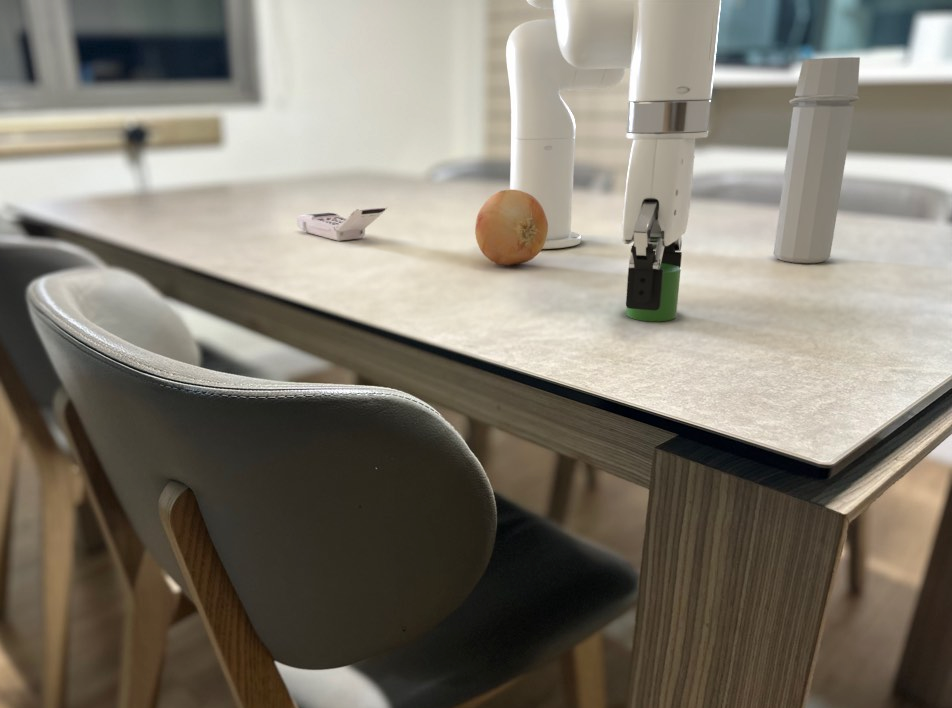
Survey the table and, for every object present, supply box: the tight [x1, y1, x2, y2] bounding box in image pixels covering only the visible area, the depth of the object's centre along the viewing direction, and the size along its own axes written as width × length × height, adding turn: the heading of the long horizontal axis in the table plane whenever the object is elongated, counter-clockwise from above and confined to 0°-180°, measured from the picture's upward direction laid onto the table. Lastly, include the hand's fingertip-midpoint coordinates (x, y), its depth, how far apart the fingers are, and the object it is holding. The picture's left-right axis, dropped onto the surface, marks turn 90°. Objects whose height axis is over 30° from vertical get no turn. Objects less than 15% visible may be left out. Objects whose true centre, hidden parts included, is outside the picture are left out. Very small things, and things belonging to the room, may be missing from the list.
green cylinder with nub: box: [625, 263, 681, 323], centre depth 83 cm, size 5×5×6 cm
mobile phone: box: [296, 206, 389, 242], centre depth 136 cm, size 6×6×25 cm
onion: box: [474, 189, 548, 266], centre depth 108 cm, size 10×10×10 cm
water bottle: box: [773, 56, 861, 264], centre depth 105 cm, size 9×8×25 cm
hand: (653, 298), depth 83 cm, fingers open, 9 cm apart
